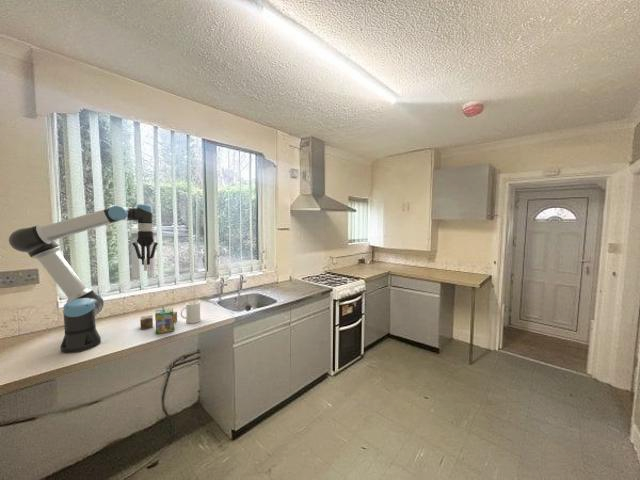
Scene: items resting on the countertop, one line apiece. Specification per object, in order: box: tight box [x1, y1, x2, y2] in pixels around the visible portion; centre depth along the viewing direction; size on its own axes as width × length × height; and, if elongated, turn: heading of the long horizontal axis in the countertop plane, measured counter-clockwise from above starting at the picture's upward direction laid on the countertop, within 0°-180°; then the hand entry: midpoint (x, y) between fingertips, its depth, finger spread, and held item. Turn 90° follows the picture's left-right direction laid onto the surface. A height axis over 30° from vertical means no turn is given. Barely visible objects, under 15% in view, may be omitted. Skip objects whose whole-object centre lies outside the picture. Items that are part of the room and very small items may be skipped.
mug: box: [180, 300, 201, 324], centre depth 167 cm, size 12×8×12 cm
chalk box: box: [154, 305, 175, 335], centre depth 153 cm, size 9×9×15 cm
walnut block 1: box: [139, 314, 154, 330], centre depth 158 cm, size 6×6×6 cm
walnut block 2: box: [173, 311, 178, 324], centre depth 165 cm, size 6×6×6 cm
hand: (146, 270), depth 155 cm, fingers closed
